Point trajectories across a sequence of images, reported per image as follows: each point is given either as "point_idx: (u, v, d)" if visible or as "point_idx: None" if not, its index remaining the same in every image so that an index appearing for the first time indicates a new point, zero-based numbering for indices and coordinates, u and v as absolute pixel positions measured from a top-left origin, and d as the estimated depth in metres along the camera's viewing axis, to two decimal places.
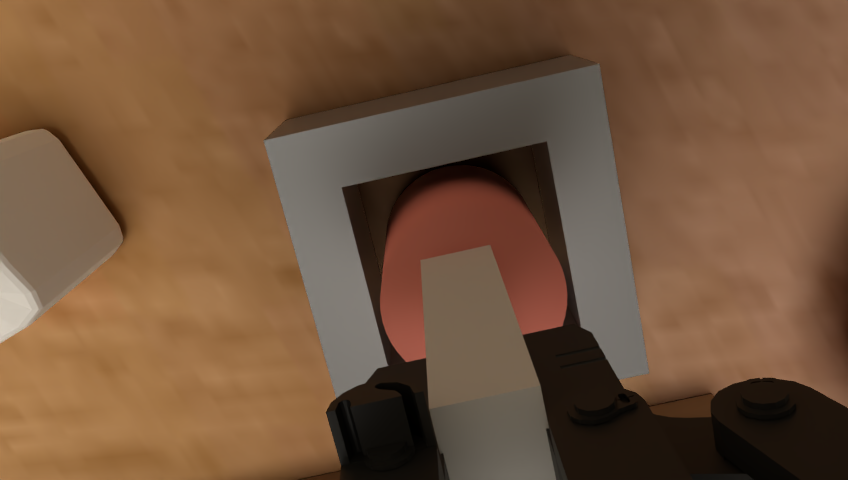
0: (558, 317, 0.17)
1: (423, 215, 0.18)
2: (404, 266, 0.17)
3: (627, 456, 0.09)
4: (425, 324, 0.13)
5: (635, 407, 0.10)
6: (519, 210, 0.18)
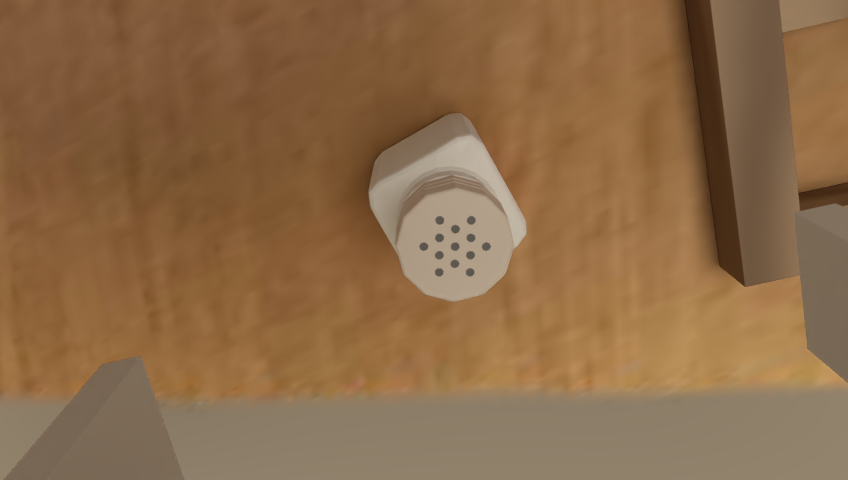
0: None
1: None
2: None
3: None
4: (13, 469, 0.12)
5: None
6: None
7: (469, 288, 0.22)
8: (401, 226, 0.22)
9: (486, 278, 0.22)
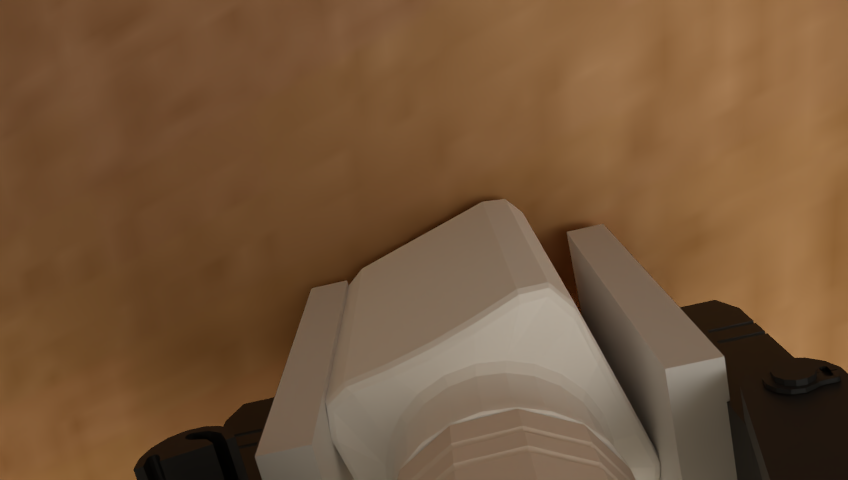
0: None
1: None
2: None
3: (826, 429, 0.09)
4: (288, 360, 0.13)
5: (838, 381, 0.09)
6: None
7: None
8: None
9: None
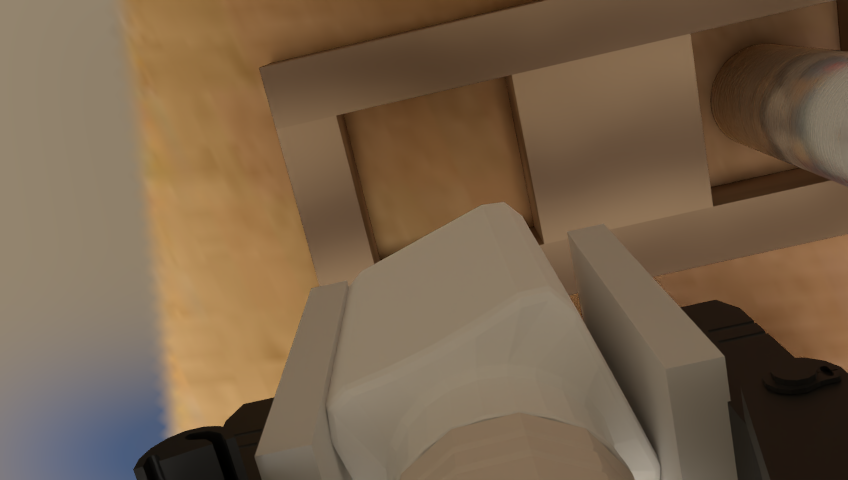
0: None
1: None
2: None
3: (826, 429, 0.09)
4: (287, 360, 0.13)
5: (838, 381, 0.09)
6: None
7: None
8: None
9: None
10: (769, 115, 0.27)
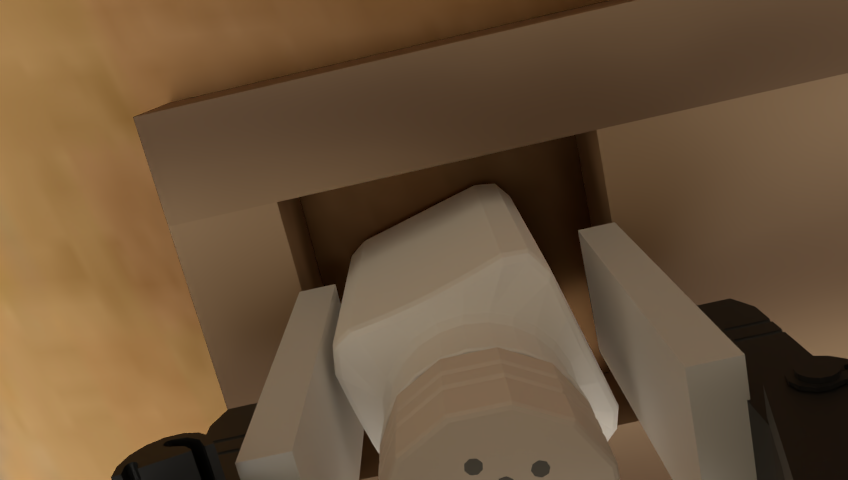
0: None
1: None
2: None
3: None
4: (272, 365, 0.13)
5: None
6: None
7: None
8: (391, 475, 0.10)
9: None
10: None
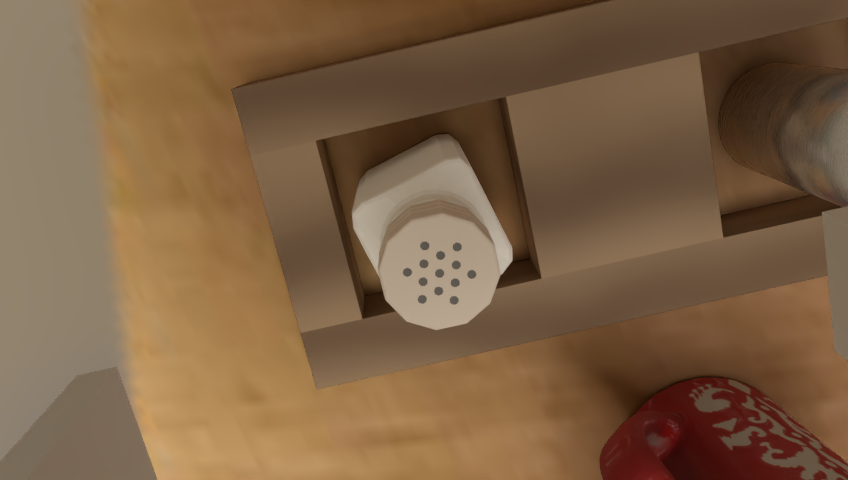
0: None
1: None
2: None
3: None
4: None
5: None
6: None
7: (453, 317, 0.22)
8: (385, 250, 0.21)
9: (470, 307, 0.21)
10: (787, 141, 0.25)
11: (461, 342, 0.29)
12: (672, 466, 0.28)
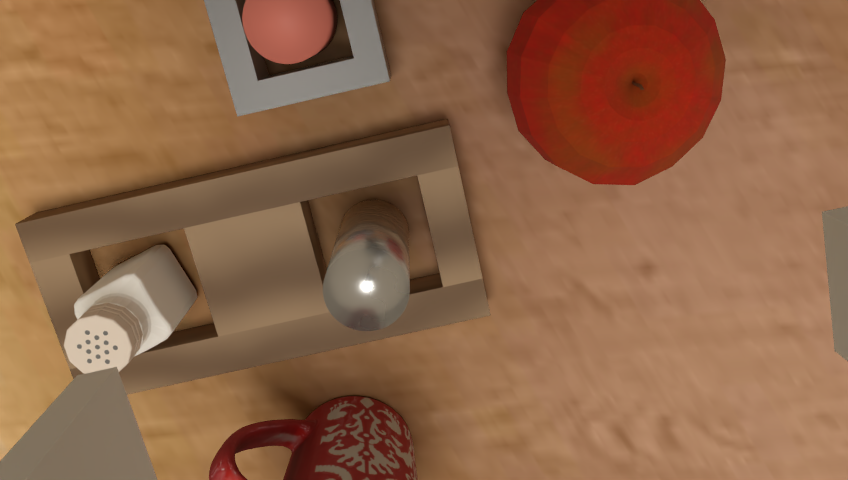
0: (325, 28, 0.38)
1: None
2: (252, 1, 0.38)
3: None
4: None
5: None
6: None
7: None
8: (66, 334, 0.38)
9: (117, 365, 0.39)
10: None
11: (171, 375, 0.47)
12: (296, 453, 0.46)
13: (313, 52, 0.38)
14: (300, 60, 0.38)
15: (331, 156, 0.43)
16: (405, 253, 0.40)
